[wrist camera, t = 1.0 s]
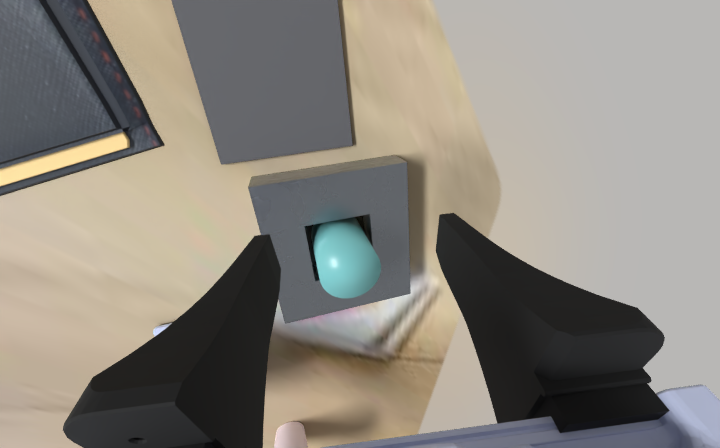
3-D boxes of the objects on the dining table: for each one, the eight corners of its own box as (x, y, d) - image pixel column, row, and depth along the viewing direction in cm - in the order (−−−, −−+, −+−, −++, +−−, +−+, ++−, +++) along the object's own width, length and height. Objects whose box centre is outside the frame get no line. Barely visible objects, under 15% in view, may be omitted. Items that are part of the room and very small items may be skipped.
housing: (400, 277, 34) (410, 293, 31) (284, 303, 32) (285, 323, 29) (395, 154, 28) (407, 162, 25) (251, 177, 26) (248, 187, 23)
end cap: (362, 250, 31) (382, 290, 25) (315, 260, 31) (324, 304, 24) (358, 206, 29) (378, 239, 23) (307, 215, 28) (314, 252, 22)
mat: (351, 144, 27) (352, 145, 26) (222, 163, 25) (221, 164, 24) (335, -9, 22) (336, -10, 21) (173, 0, 20) (171, -2, 20)
